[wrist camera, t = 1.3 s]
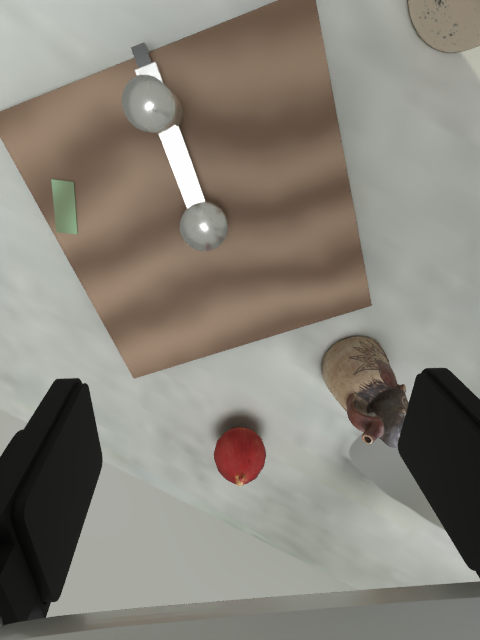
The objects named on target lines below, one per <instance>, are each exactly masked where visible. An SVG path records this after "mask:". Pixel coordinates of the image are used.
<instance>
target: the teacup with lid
mask: <svg viewBox="0 0 480 640" xmlns="http://www.w3.org/2000/svg"><path fill="white" fill-rule="evenodd" d="M408 5H409V12H410V16H411V19H412V22H413V25H414V27H415V29H416V31H417V32H418V34H419V35H420V37H421V38H422V39H423V40H424V41H425V42H426V43H427V44H429V45H430V46H432V47H433V48H435V49H437V50H440V51H444V52H462V51H466V50H469V49H472V48H475V47H478V46H480V0H408Z"/></svg>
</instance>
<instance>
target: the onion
mask: <svg viewBox="0 0 480 640" xmlns="http://www.w3.org/2000/svg"><path fill="white" fill-rule="evenodd" d="M265 458H266V451H265V447H264V444H263V442H262V439H261V438H260V437H259V436H258V435H257V434H256V433H255V432H254V431H253V430H251V429H248V428H243V427H237V428H232V429H230V430H228V431H226V432H225V433H224V434H223V435H222V436H221V437H220V439H219V440H218V441H217V444H216V447H215V451H214V460H215V463H216V465H217V468H218V471H219V472H220V473H221V475H222V476H223V477H224V478H225V479H226V480H228V481H230V482H232V483H234V484H237V485H238V486H243V485H244V484H247V483H249V482H251V481H252V480H254V479H255V478H257V476H258V474H259V473H260V471H261V470H262V469H263V467H264V463H265Z"/></svg>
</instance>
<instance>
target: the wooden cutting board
mask: <svg viewBox="0 0 480 640" xmlns="http://www.w3.org/2000/svg"><path fill="white" fill-rule="evenodd" d="M149 54H150V57H151V60H152V62H153V63H154V62H156V63H157V64H158V67H159V70H160V73H161V76H162V78H163V81H164V84H165V86H166V87H167V88H168V89H169V90H170V91H171V92H172V93H173V94H174V95H175V96H176V97H177V98H178V99H179V101H180V103H181V105H182V108H183V120H182V123H181V125H180V129H181V132H182V135H183V138H184V140H185V143H186V146H187V149H188V152H189V154H190V157H191V160H192V163H193V166H194V168H195V171H196V174H197V177H198V180H199V183H200V185H201V188H202V191H203V194H204V197H205V199H206V201H211V202H213V203H215V204H217V205H218V206H219V207H220V208H221V209H222V210H223V211H224V213H225V215H226V218H227V226H228V230H227V235H226V238H225V240H224V241H223V243H222V244H221V245H220V246H219V247H217V248H215V249H213V250H210V251H199V250H196V249H193V248H192V247H190V246H189V245H188V244H187V243H186V242H185V241H184V239H183V238H182V235H181V232H180V221H181V218H182V216H183V214H184V212H185V210H186V209H187V206H186V204H185V201H184V198H183V196H182V193H181V190H180V188H179V185H178V183H177V180H176V177H175V175H174V172H173V169H172V167H171V164H170V161H169V159H168V156H167V154H166V151H165V148H164V146H163V143H162V140H161V138H160V135H159V133H153V132H146V131H142V130H140V129H138V128H136V127H135V126H134V125H132V124H131V123H130V121H129V120H128V119H127V117H126V115H125V113H124V110H123V107H122V94H123V90H124V87H125V86H126V84H127V83H128V81H130V80H131V79H132V78H133V77H135V76H137V75H136V72H135V70H136V69H139V68H138V65H137V63H136V60H135V58H133V59H131V60H128V61H126V62H123V63H121V64H118V65H116V66H113V67H111V68H108V69H106V70H103V71H101V72H98V73H96V74H93V75H91V76H88V77H86V78H83V79H81V80H78V81H76V82H73V83H71V84H68V85H66V86H63V87H61V88H58V89H56V90H53V91H51V92H48V93H46V94H43V95H41V96H38V97H36V98H33V99H31V100H28V101H26V102H23V103H21V104H18V105H16V106H13V107H11V108H8V109H6V110H3V111H1V112H0V138H1V139H2V141H3V143H4V145H5V147H6V148H7V150H8V152H9V154H10V156H11V157H12V159H13V161H14V163H15V165H16V166H17V168H18V170H19V172H20V174H21V176H22V177H23V179H24V181H25V183H26V185H27V186H28V188H29V190H30V192H31V194H32V195H33V197H34V199H35V201H36V203H37V204H38V206H39V208H40V210H41V212H42V213H43V215H44V217H45V219H46V221H47V223H48V224H49V226H50V228H51V230H52V232H53V233H54V235H55V237H56V239H57V241H58V242H59V244H60V246H61V248H62V250H63V251H64V253H65V255H66V257H67V259H68V260H69V262H70V264H71V266H72V268H73V270H74V271H75V273H76V275H77V277H78V279H79V280H80V282H81V284H82V286H83V288H84V289H85V291H86V293H87V295H88V297H89V298H90V300H91V302H92V304H93V306H94V307H95V309H96V311H97V313H98V315H99V316H100V318H101V320H102V322H103V324H104V326H105V327H106V329H107V331H108V333H109V335H110V336H111V338H112V340H113V342H114V344H115V345H116V347H117V349H118V351H119V353H120V354H121V356H122V358H123V360H124V362H125V363H126V365H127V367H128V369H129V371H130V373H131V374H132V376H133V378H137V377H140V376H144V375H147V374H150V373H153V372H157V371H160V370H163V369H166V368H170V367H173V366H176V365H179V364H183V363H186V362H189V361H192V360H196V359H199V358H202V357H205V356H209V355H212V354H215V353H218V352H222V351H225V350H228V349H231V348H235V347H238V346H241V345H244V344H248V343H251V342H254V341H258V340H261V339H264V338H267V337H271V336H274V335H277V334H280V333H284V332H287V331H290V330H293V329H297V328H300V327H303V326H306V325H310V324H313V323H316V322H319V321H323V320H326V319H329V318H332V317H336V316H339V315H342V314H345V313H349V312H352V311H355V310H358V309H362V308H365V307H368V306H371V305H372V304H371V299H370V293H369V288H368V282H367V277H366V272H365V266H364V261H363V255H362V250H361V244H360V239H359V234H358V228H357V223H356V217H355V212H354V206H353V201H352V196H351V190H350V185H349V179H348V174H347V169H346V163H345V158H344V152H343V147H342V141H341V136H340V131H339V125H338V120H337V114H336V109H335V103H334V98H333V93H332V87H331V82H330V76H329V71H328V66H327V60H326V55H325V49H324V44H323V38H322V33H321V28H320V22H319V17H318V11H317V6H316V0H278V1H276V2H273V3H271V4H268V5H266V6H263V7H261V8H258V9H256V10H253V11H251V12H248V13H246V14H243V15H241V16H238V17H236V18H233V19H231V20H228V21H226V22H223V23H221V24H218V25H216V26H213V27H211V28H208V29H206V30H203V31H201V32H198V33H196V34H193V35H191V36H188V37H186V38H183V39H181V40H178V41H176V42H173V43H171V44H168V45H166V46H163V47H161V48H158V49H156V50H153V51H151V52H149Z"/></svg>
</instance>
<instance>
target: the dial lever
mask: <svg viewBox="0 0 480 640" xmlns="http://www.w3.org/2000/svg"><path fill="white" fill-rule="evenodd" d="M131 49H132V52H133V55H134V57H135V60H136V63H137V65H138V68H139V69H136V70H135V72H136V75H137V76H135V77H133V78H132V79H131V80H130V81H128V83H127V84H126V86H125V87H124V90H123V94H122V107H123V110H124V113H125V115H126V117H127V119H128V120H129V121H130V123H131V124H132V125H134V126H135V127H136V128H138V129H140V130H142V131H146V132H153V133H159V135H160V138H161V140H162V143H163V146H164V148H165V151H166V154H167V156H168V159H169V161H170V164H171V167H172V169H173V172H174V175H175V177H176V180H177V183H178V185H179V188H180V190H181V193H182V196H183V198H184V201H185V204H186V206H187V209H186V210H185V212H184V214H183V216H182V218H181V221H180V232H181V235H182V238H183V239H184V241H185V242H186V243H187V244H188V245H189V246H190V247H192V248H193V249H196V250H199V251H210V250H213V249H215V248H217V247H219V246H220V245H221V244H222V243H223V241H224V240H225V238H226V235H227V230H228V226H227V218H226V215H225V213H224V211H223V210H222V209H221V208H220V207H219V206H218V205H217V204H215V203H213V202H211V201H206V199H205V197H204V194H203V191H202V188H201V185H200V183H199V180H198V177H197V174H196V171H195V168H194V166H193V163H192V160H191V157H190V154H189V152H188V149H187V146H186V143H185V140H184V138H183V135H182V132H181V129H180V125H181V123H182V120H183V108H182V105H181V103H180V101H179V99H178V98H177V97H176V96H175V95H174V94H173V93H172V92H171V91H170V90H169V89H168V88H167V87H166V86H165V84H164V81H163V78H162V76H161V73H160V70H159V67H158V64H157V63H156V62H154V63H153V62H152V60H151V57H150V54H149V51H148V49H147V46H146V44H145V43H141V44H139V45H136V46H134V47H131Z"/></svg>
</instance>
